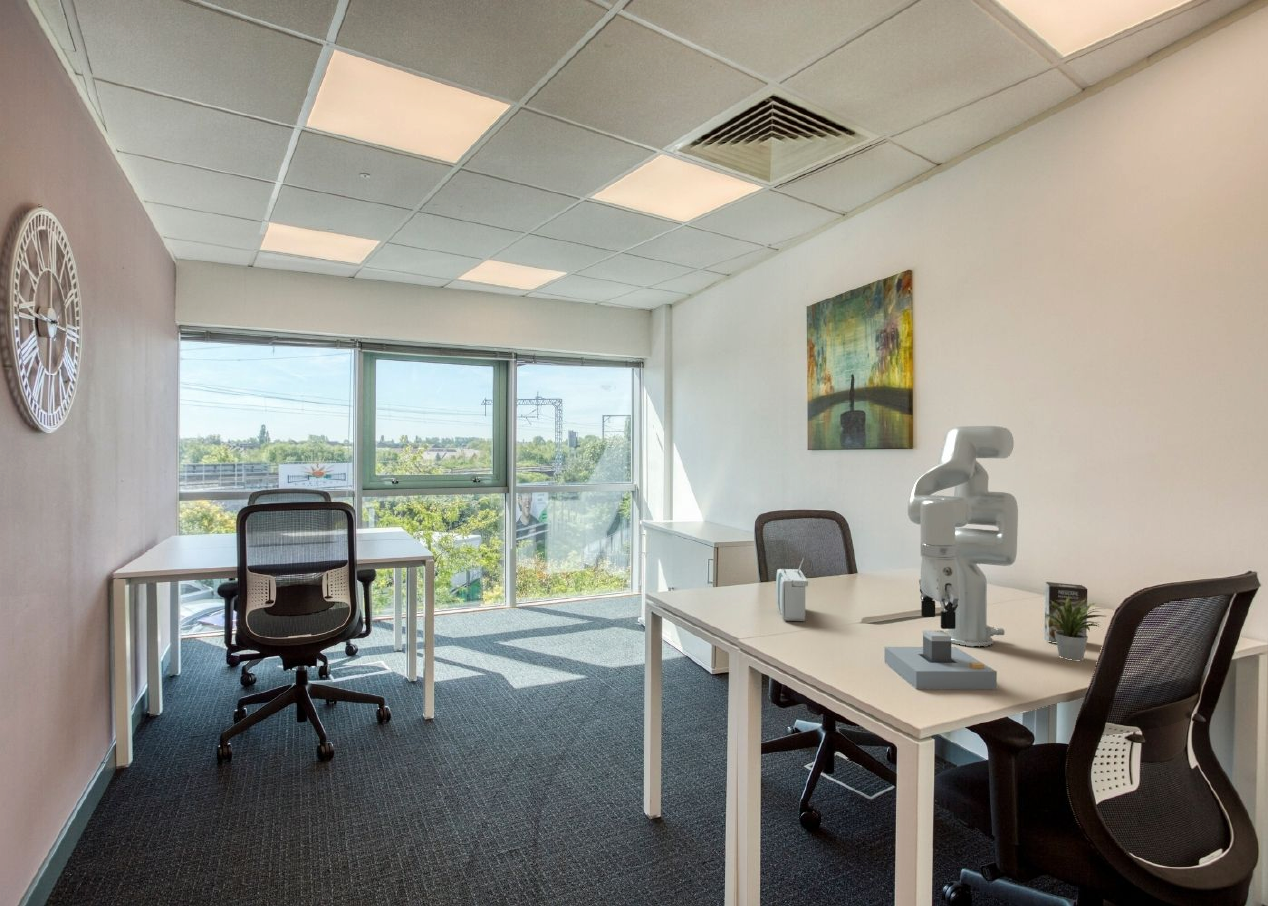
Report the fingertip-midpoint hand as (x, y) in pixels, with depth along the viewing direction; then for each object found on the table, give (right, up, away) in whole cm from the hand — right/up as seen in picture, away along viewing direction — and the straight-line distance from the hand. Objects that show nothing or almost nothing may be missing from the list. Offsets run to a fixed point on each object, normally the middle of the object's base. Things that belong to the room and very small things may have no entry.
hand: (937, 622), depth 152 cm
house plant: (+40, -13, +12) cm, 43 cm away
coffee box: (+49, -13, +27) cm, 57 cm away
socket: (0, -12, 0) cm, 12 cm away
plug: (0, -13, 0) cm, 13 cm away
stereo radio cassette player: (-21, -13, +57) cm, 62 cm away
